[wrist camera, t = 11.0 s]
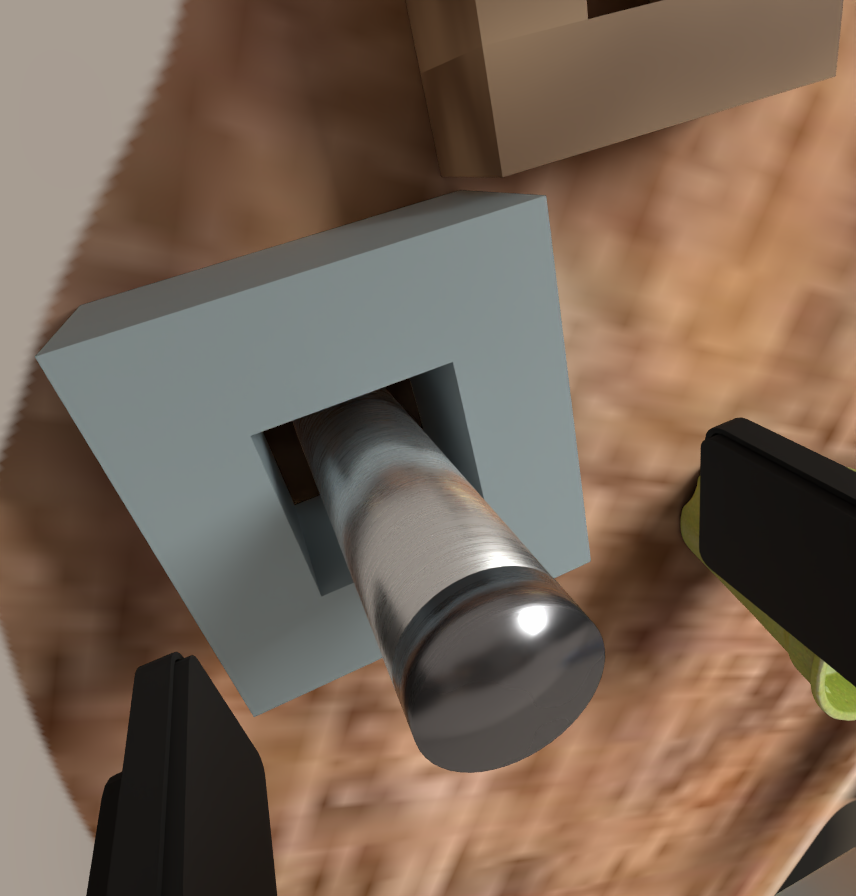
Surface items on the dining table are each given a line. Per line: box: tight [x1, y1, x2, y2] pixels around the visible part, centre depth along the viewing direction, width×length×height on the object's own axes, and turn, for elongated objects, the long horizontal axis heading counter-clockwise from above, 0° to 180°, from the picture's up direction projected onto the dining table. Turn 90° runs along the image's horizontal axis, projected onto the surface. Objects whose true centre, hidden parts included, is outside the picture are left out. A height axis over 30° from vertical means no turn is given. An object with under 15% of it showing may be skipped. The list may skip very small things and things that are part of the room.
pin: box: [293, 387, 605, 773], centre depth 14 cm, size 3×3×12 cm
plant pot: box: [680, 467, 856, 721], centre depth 24 cm, size 9×9×9 cm
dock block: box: [35, 190, 591, 717], centre depth 17 cm, size 11×11×5 cm
